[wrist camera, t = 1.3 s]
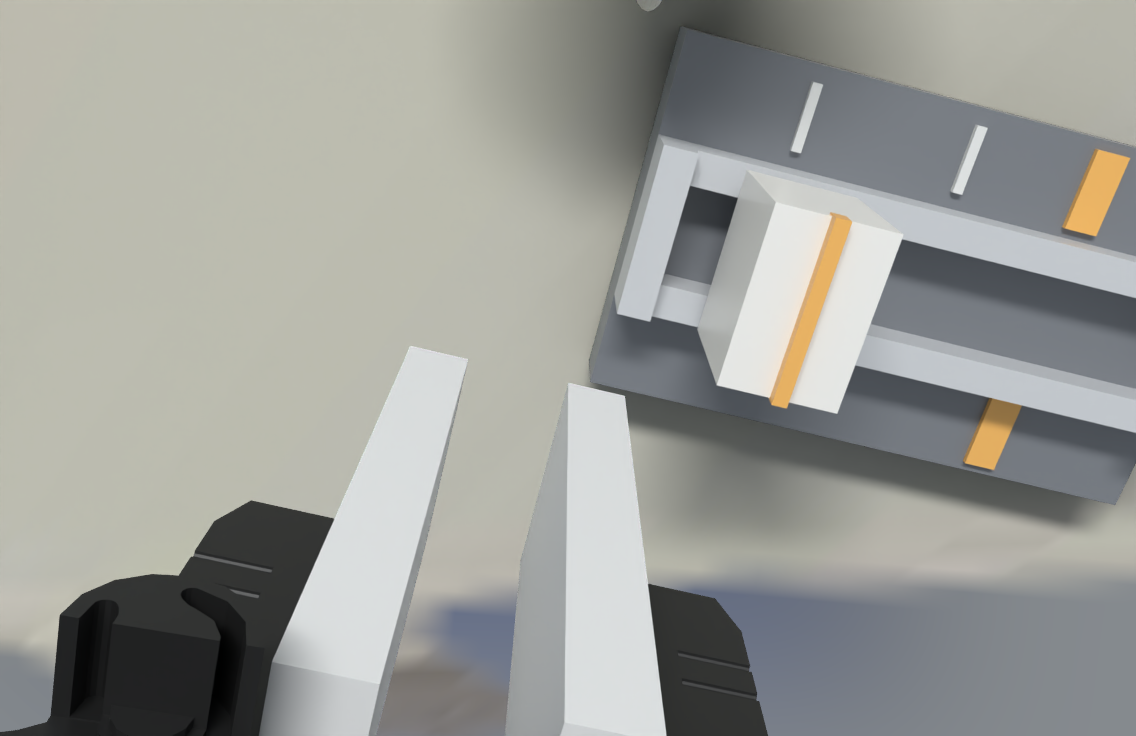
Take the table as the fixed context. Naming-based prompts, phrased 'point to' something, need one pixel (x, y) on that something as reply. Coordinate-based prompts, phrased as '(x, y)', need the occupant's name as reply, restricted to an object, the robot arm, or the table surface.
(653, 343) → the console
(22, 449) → the table surface
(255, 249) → the table surface
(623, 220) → the table surface
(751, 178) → the fader tab
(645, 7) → the mug
